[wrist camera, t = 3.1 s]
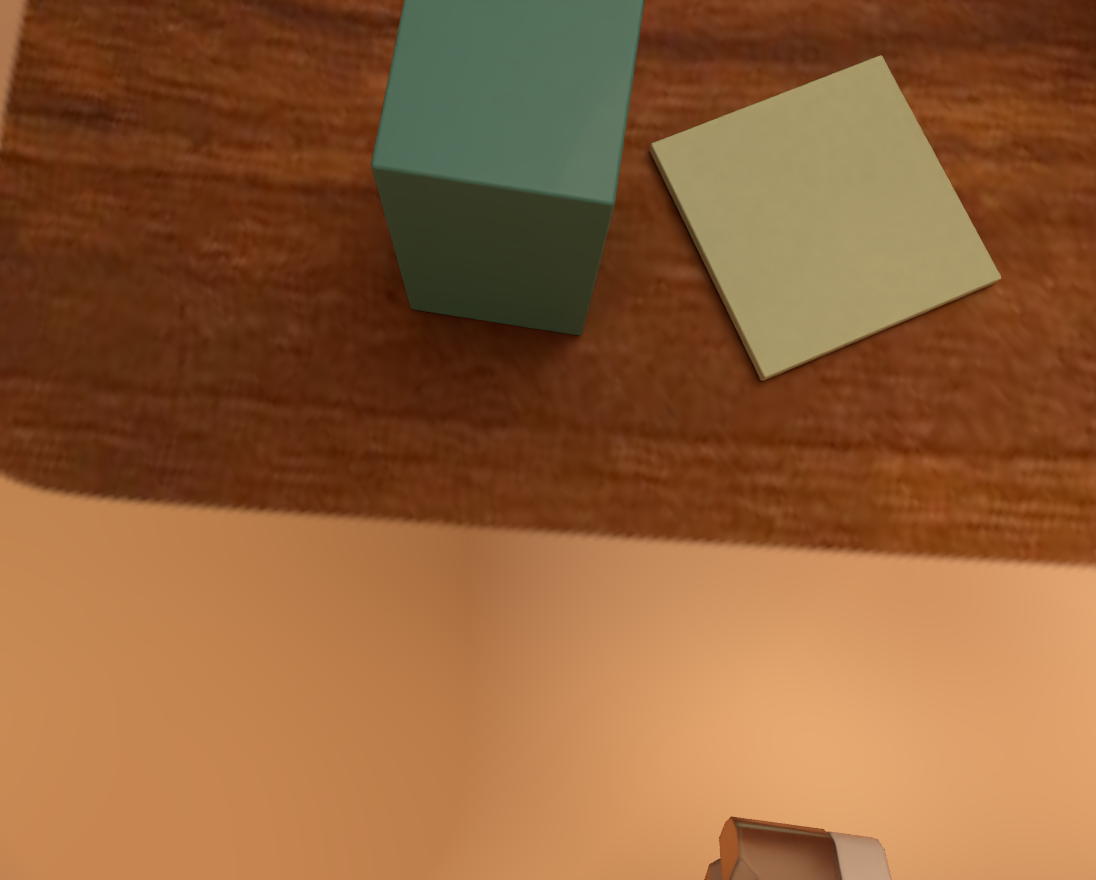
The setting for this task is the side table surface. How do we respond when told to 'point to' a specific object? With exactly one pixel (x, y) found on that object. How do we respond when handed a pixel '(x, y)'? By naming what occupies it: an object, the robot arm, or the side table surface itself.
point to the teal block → (505, 153)
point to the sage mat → (822, 216)
